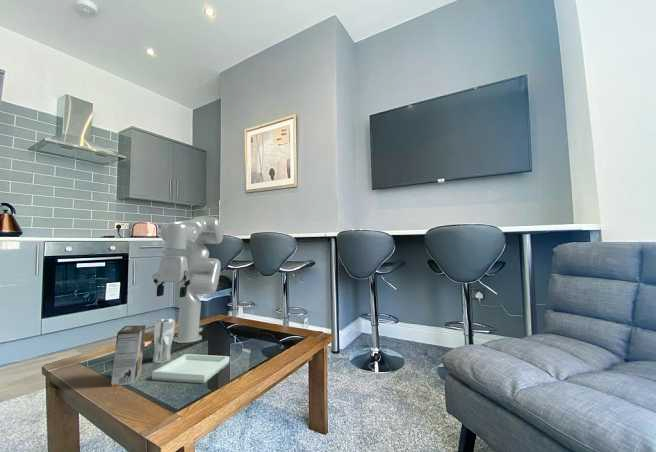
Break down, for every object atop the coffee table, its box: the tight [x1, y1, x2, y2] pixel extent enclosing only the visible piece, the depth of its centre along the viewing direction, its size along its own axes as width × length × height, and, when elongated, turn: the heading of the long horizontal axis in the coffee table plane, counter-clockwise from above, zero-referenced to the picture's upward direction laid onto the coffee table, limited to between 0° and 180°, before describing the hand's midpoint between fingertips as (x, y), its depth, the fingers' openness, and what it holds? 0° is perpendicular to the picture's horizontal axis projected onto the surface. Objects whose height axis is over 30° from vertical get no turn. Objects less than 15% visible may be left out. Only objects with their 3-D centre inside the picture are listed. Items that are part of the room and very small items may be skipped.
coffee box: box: [110, 325, 147, 386], centre depth 90 cm, size 9×6×16 cm
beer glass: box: [152, 318, 176, 364], centre depth 108 cm, size 7×7×15 cm
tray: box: [151, 353, 230, 384], centre depth 98 cm, size 18×18×2 cm
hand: (171, 296), depth 110 cm, fingers open, 9 cm apart
